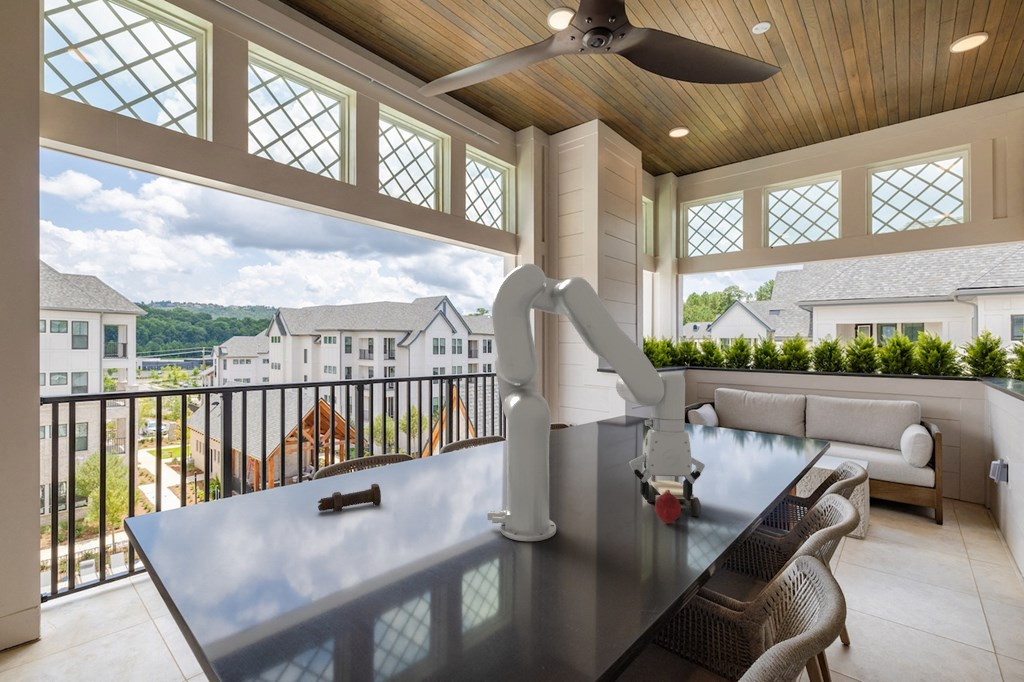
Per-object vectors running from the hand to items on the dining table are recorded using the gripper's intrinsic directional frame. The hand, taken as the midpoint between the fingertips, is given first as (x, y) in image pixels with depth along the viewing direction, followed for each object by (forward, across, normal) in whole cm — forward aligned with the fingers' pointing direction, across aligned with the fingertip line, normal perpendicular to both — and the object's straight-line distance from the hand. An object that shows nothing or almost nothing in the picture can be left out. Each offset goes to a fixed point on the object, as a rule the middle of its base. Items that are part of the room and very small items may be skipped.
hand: (666, 498), depth 111 cm
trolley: (+6, +5, +11) cm, 13 cm away
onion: (+6, +1, 0) cm, 6 cm away
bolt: (+8, -78, +10) cm, 79 cm away
